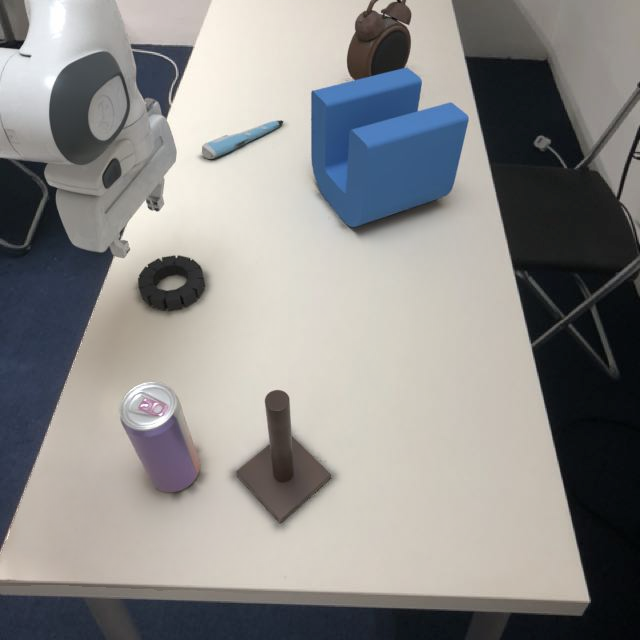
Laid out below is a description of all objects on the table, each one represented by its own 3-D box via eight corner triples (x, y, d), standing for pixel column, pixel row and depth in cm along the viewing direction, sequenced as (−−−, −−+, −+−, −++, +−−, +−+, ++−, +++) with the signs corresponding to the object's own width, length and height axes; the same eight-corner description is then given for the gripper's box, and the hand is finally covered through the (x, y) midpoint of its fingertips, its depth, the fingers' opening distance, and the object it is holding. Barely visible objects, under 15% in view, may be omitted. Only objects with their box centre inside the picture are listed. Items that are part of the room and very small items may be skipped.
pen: (210, 163, 109) (208, 150, 106) (201, 156, 110) (198, 143, 108) (287, 127, 117) (287, 114, 115) (278, 120, 119) (277, 108, 116)
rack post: (280, 523, 64) (272, 453, 51) (236, 475, 68) (218, 398, 55) (331, 478, 68) (335, 401, 55) (286, 434, 71) (281, 353, 58)
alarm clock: (365, 107, 122) (373, 8, 107) (342, 94, 126) (347, -3, 111) (411, 85, 129) (424, -11, 114) (388, 73, 132) (398, -21, 117)
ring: (164, 321, 83) (161, 311, 81) (129, 286, 88) (125, 276, 86) (217, 288, 87) (215, 278, 86) (181, 256, 92) (178, 246, 90)
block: (447, 210, 100) (469, 116, 87) (359, 240, 95) (367, 146, 81) (393, 157, 111) (405, 66, 97) (311, 182, 105) (311, 89, 91)
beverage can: (186, 501, 66) (159, 438, 54) (140, 485, 67) (105, 420, 55) (209, 456, 69) (188, 389, 58) (165, 442, 70) (137, 373, 59)
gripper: (131, 86, 71) (155, 179, 81) (33, 182, 58) (76, 277, 68) (177, 94, 69) (195, 187, 80) (88, 194, 57) (123, 288, 67)
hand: (140, 229), depth 74 cm, fingers open, 8 cm apart
